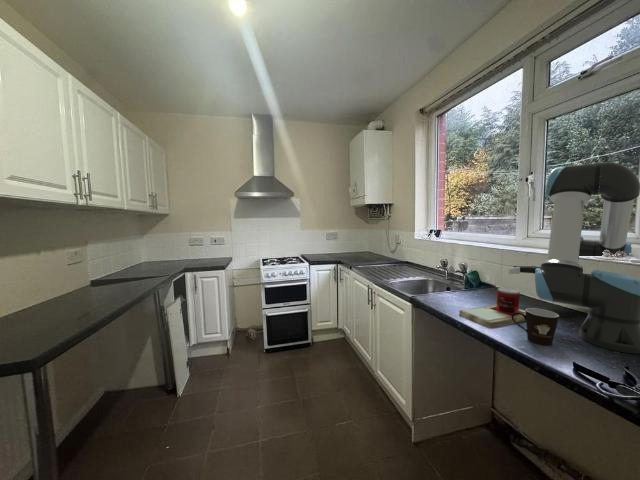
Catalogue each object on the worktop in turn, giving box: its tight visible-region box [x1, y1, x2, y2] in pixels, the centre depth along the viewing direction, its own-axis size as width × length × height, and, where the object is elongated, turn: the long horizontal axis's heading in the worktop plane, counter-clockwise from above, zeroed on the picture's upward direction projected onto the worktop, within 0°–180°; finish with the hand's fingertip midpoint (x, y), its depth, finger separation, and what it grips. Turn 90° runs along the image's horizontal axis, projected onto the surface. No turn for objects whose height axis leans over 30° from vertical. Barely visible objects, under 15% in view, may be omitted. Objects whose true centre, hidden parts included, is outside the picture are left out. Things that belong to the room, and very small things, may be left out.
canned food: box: [496, 287, 521, 316], centre depth 112 cm, size 8×8×11 cm
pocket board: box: [458, 304, 526, 329], centre depth 111 cm, size 14×26×2 cm, turn 110°
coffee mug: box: [512, 307, 560, 347], centre depth 90 cm, size 12×9×10 cm
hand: (525, 274), depth 115 cm, fingers open, 13 cm apart
